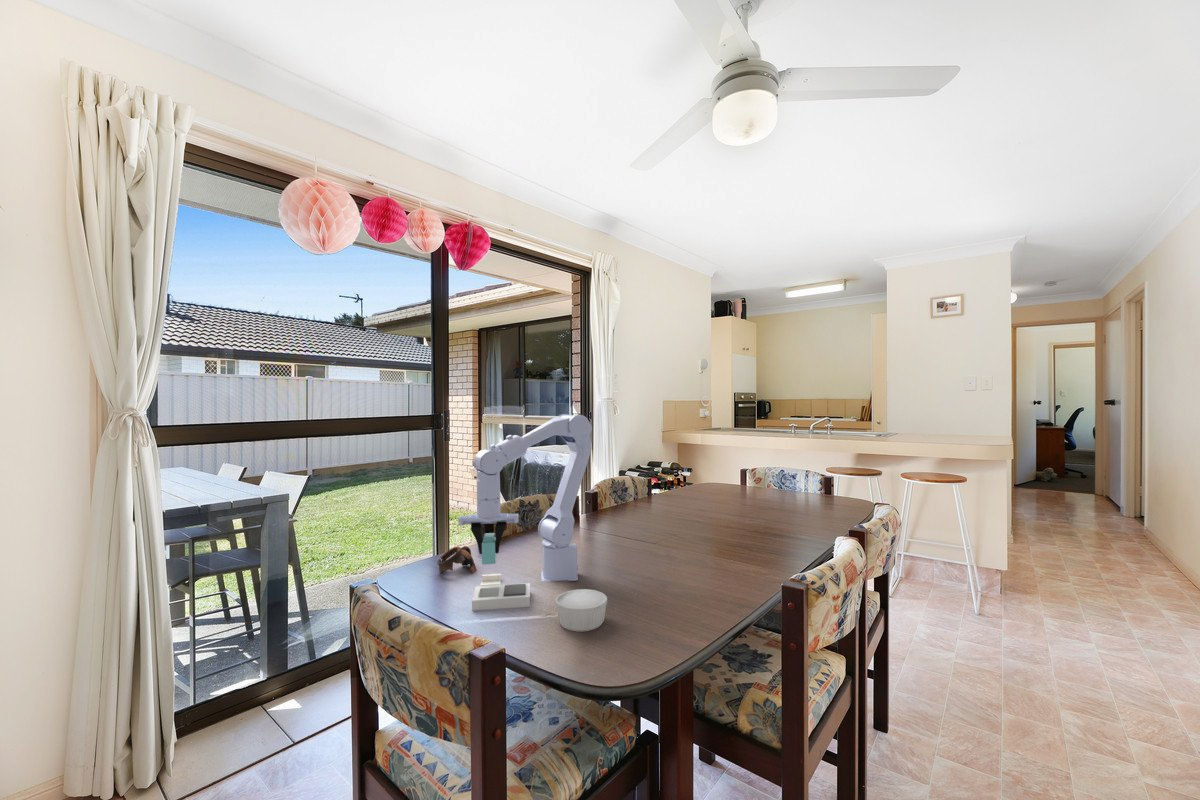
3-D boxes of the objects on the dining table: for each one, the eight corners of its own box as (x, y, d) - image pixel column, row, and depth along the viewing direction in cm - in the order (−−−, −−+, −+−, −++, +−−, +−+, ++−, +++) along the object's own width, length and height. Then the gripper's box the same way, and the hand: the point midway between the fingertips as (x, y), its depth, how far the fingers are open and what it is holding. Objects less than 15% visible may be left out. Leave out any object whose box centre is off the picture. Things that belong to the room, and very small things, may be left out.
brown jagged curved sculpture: (474, 581, 136) (457, 556, 135) (445, 594, 138) (428, 571, 136) (485, 555, 148) (470, 533, 146) (458, 568, 150) (443, 546, 148)
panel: (530, 594, 125) (529, 581, 125) (530, 608, 117) (529, 595, 117) (476, 598, 123) (475, 584, 123) (472, 613, 115) (471, 599, 115)
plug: (496, 557, 129) (496, 532, 129) (495, 563, 125) (494, 537, 125) (484, 558, 129) (483, 532, 129) (482, 564, 125) (481, 537, 124)
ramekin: (558, 611, 115) (558, 588, 115) (608, 611, 115) (607, 588, 115) (552, 634, 104) (552, 609, 104) (607, 634, 104) (606, 609, 104)
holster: (501, 580, 135) (501, 573, 135) (499, 592, 127) (499, 584, 127) (482, 581, 134) (482, 574, 134) (479, 593, 126) (479, 585, 126)
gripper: (456, 502, 122) (456, 559, 122) (517, 500, 124) (518, 556, 124) (460, 496, 129) (461, 550, 129) (518, 494, 131) (519, 547, 131)
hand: (489, 552), depth 127 cm, fingers closed on plug, 3 cm apart
